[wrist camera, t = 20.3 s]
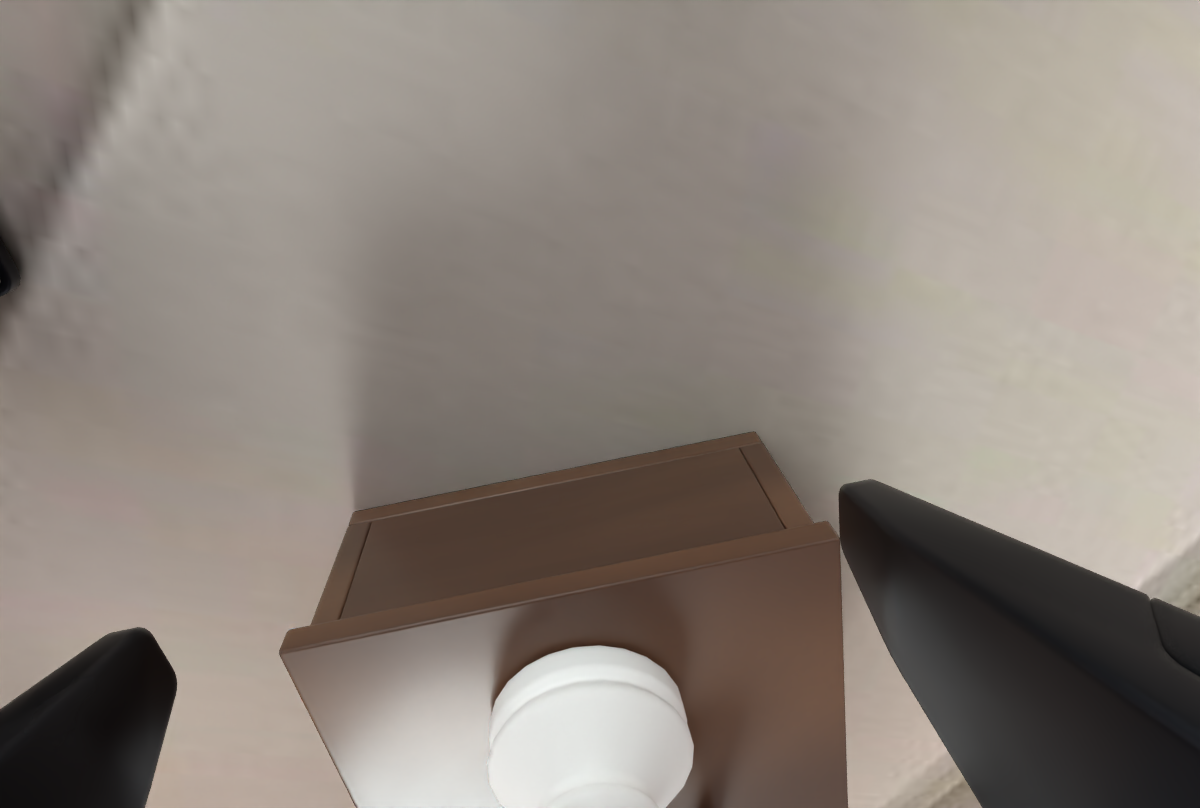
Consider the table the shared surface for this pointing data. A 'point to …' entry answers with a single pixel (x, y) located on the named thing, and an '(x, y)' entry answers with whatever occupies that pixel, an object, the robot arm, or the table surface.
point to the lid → (607, 618)
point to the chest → (558, 525)
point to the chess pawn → (589, 733)
